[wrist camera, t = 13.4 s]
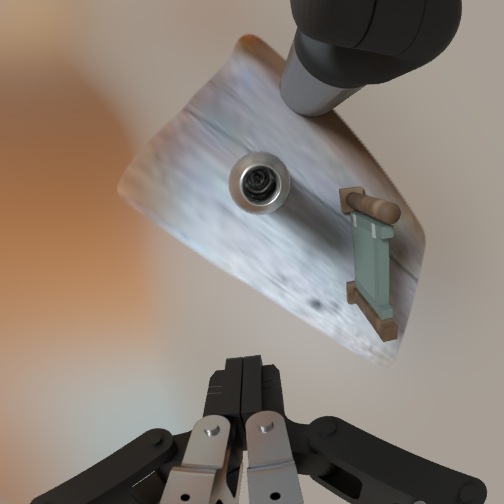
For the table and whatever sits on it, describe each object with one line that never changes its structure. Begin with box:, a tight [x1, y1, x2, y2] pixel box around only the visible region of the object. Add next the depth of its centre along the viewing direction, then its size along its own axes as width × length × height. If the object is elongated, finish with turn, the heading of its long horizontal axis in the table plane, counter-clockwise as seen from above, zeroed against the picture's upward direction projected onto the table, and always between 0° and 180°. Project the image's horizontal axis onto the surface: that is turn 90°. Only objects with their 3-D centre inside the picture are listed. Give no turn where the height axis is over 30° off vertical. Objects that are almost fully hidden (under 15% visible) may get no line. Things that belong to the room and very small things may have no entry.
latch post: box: [346, 281, 398, 342], centre depth 42 cm, size 4×4×15 cm
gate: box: [350, 211, 393, 320], centre depth 40 cm, size 12×2×12 cm, turn 9°
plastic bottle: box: [229, 152, 290, 215], centre depth 35 cm, size 6×7×20 cm
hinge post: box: [339, 187, 401, 224], centre depth 38 cm, size 4×4×15 cm
